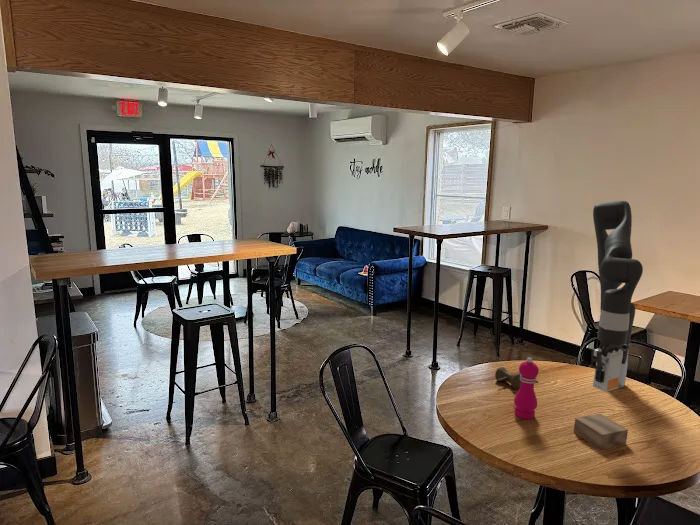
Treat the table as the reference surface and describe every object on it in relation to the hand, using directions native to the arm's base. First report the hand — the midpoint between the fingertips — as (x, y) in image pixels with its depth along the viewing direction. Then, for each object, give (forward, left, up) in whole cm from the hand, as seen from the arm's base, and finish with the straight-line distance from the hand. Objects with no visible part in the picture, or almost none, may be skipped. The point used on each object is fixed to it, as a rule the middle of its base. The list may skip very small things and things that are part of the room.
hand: (606, 379), depth 138 cm
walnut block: (0, 0, -19) cm, 19 cm away
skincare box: (0, 0, -3) cm, 3 cm away
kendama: (-6, -40, -19) cm, 45 cm away
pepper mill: (+10, -20, -19) cm, 29 cm away
